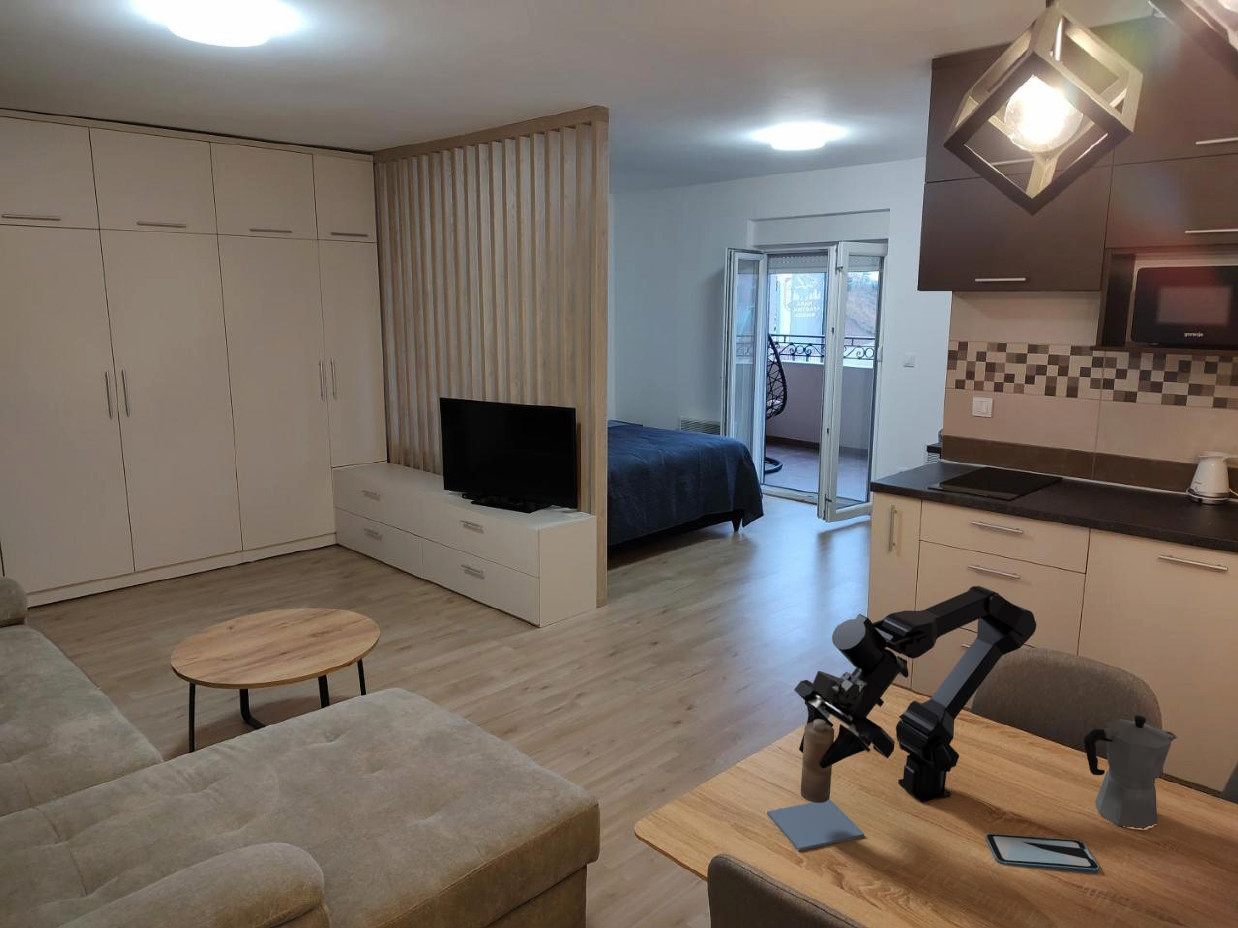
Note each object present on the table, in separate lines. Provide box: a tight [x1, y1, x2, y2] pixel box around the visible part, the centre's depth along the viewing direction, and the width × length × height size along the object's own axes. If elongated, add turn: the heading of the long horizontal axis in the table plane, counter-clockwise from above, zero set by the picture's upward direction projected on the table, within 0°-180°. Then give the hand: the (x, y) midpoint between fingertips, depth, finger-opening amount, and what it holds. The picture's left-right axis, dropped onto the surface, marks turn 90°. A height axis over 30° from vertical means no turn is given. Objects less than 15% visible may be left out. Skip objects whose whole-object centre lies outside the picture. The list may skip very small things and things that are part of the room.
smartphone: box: [984, 833, 1100, 874], centre depth 133 cm, size 7×1×15 cm
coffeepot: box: [1083, 715, 1178, 829], centre depth 141 cm, size 15×9×18 cm, turn 92°
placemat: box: [766, 798, 865, 852], centre depth 139 cm, size 12×10×1 cm
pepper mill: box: [800, 719, 835, 803], centre depth 136 cm, size 5×5×13 cm
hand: (810, 759), depth 135 cm, fingers closed on pepper mill, 5 cm apart
